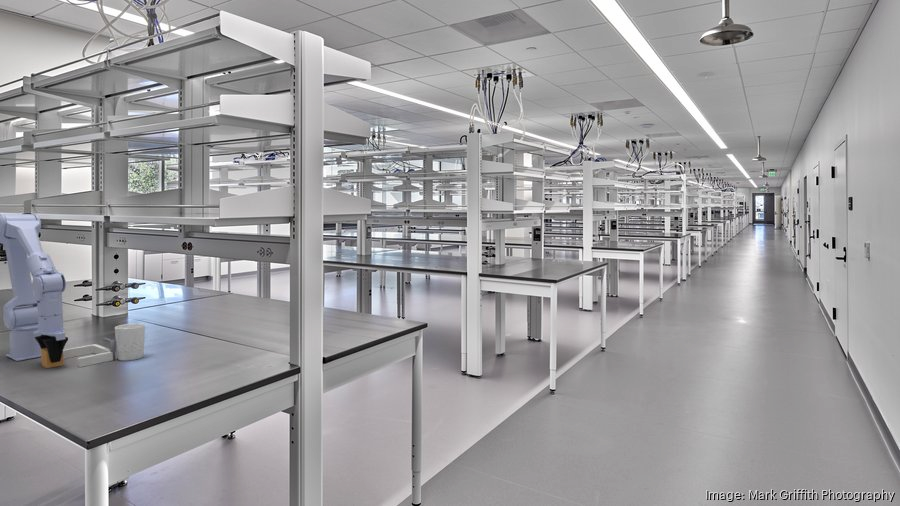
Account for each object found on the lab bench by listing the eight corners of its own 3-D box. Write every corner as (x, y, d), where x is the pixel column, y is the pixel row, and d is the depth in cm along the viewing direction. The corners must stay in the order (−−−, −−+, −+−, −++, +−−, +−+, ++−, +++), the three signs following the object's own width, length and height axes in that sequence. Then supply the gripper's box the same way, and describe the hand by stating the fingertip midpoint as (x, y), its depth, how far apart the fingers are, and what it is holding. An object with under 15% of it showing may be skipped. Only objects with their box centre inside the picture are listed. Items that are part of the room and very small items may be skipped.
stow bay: (59, 358, 154) (58, 339, 153) (96, 351, 162) (95, 333, 161) (79, 367, 146) (78, 347, 145) (116, 359, 154) (116, 340, 153)
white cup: (148, 353, 161) (147, 322, 160) (142, 360, 154) (141, 328, 153) (119, 355, 158) (118, 324, 157) (112, 362, 151) (111, 329, 150)
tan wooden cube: (41, 365, 147) (40, 348, 146) (58, 362, 150) (57, 346, 149) (47, 368, 144) (46, 351, 144) (63, 364, 148) (62, 348, 147)
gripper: (24, 313, 147) (26, 359, 148) (42, 320, 139) (45, 368, 140) (53, 310, 152) (55, 353, 153) (73, 316, 144) (75, 362, 145)
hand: (52, 360), depth 147 cm, fingers closed on tan wooden cube, 4 cm apart
